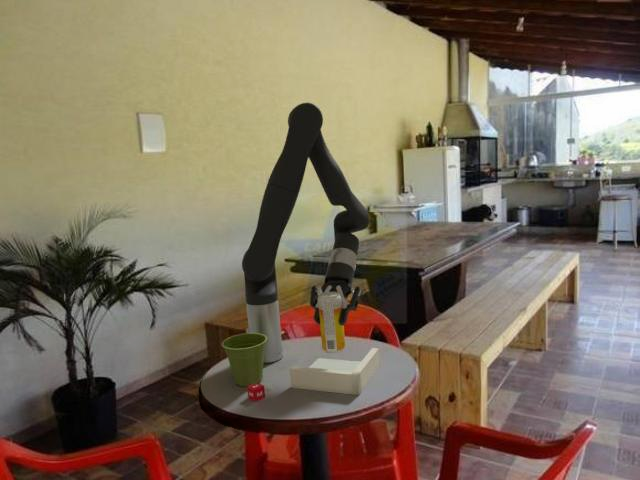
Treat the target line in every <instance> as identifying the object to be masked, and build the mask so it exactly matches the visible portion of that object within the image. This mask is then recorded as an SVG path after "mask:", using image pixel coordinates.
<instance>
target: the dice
mask: <svg viewBox="0 0 640 480" xmlns="http://www.w3.org/2000/svg"><path fill="white" fill-rule="evenodd" d="M246 389H247V399H249V400H251V401H253V402H258V401H260V400H263V399H265V398H266V391H265V389H266V388H265V385H263V384H262V383H260V382H258V383H255V384H253V385H250V386H246Z"/></svg>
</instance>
